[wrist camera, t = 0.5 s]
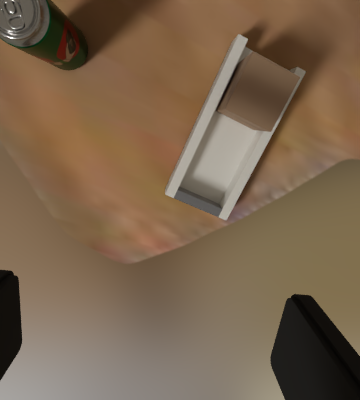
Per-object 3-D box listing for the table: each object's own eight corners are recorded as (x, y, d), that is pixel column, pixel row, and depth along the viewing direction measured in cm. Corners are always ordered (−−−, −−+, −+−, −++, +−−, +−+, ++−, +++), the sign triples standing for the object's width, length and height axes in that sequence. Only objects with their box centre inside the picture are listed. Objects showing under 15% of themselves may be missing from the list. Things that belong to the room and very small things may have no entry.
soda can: (80, 18, 31) (28, -42, 19) (95, 64, 32) (55, 34, 21) (38, 30, 31) (-37, -22, 20) (55, 76, 33) (-6, 52, 21)
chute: (231, 42, 32) (238, 33, 29) (293, 75, 34) (306, 71, 31) (165, 188, 37) (165, 194, 34) (221, 212, 39) (226, 220, 36)
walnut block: (237, 63, 32) (253, 51, 26) (277, 84, 33) (300, 77, 27) (215, 110, 34) (225, 109, 28) (253, 130, 35) (271, 131, 29)
